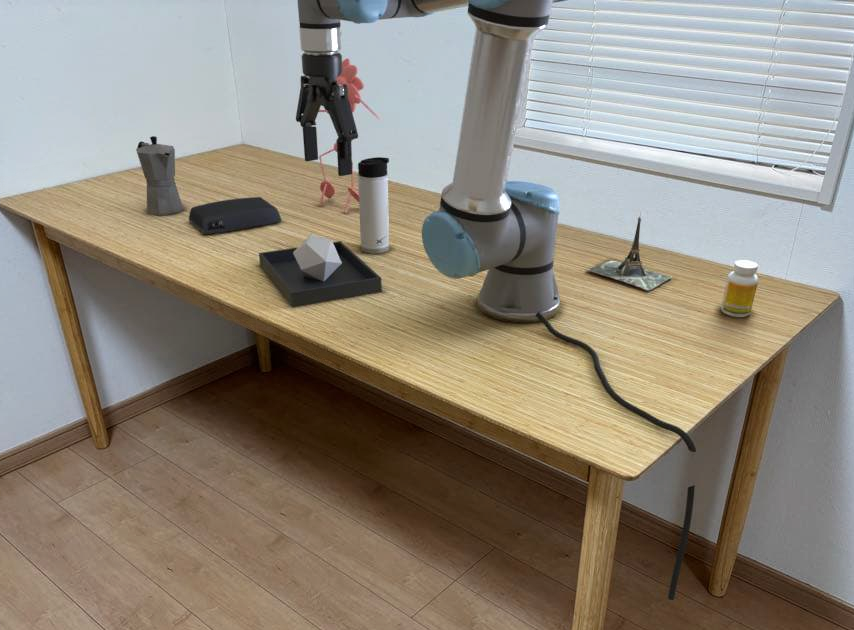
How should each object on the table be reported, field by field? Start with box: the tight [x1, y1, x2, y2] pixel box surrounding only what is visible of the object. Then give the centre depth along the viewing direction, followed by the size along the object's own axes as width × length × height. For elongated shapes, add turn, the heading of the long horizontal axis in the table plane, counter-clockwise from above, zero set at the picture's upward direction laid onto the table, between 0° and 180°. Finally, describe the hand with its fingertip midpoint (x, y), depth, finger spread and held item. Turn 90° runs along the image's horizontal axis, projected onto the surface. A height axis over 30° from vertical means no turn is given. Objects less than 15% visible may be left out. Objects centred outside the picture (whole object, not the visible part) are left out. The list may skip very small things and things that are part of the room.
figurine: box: [318, 58, 380, 219], centre depth 198 cm, size 15×26×35 cm, turn 50°
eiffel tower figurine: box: [587, 211, 674, 292], centre depth 162 cm, size 15×10×13 cm
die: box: [293, 234, 342, 282], centre depth 161 cm, size 8×9×10 cm
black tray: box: [258, 240, 383, 308], centre depth 162 cm, size 23×18×3 cm
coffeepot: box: [135, 135, 184, 216], centre depth 197 cm, size 15×9×18 cm, turn 44°
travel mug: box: [357, 156, 390, 255], centre depth 173 cm, size 6×7×20 cm
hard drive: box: [188, 196, 283, 235], centre depth 192 cm, size 13×19×4 cm
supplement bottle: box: [720, 259, 759, 318], centre depth 148 cm, size 5×5×10 cm
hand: (328, 167), depth 160 cm, fingers open, 13 cm apart
